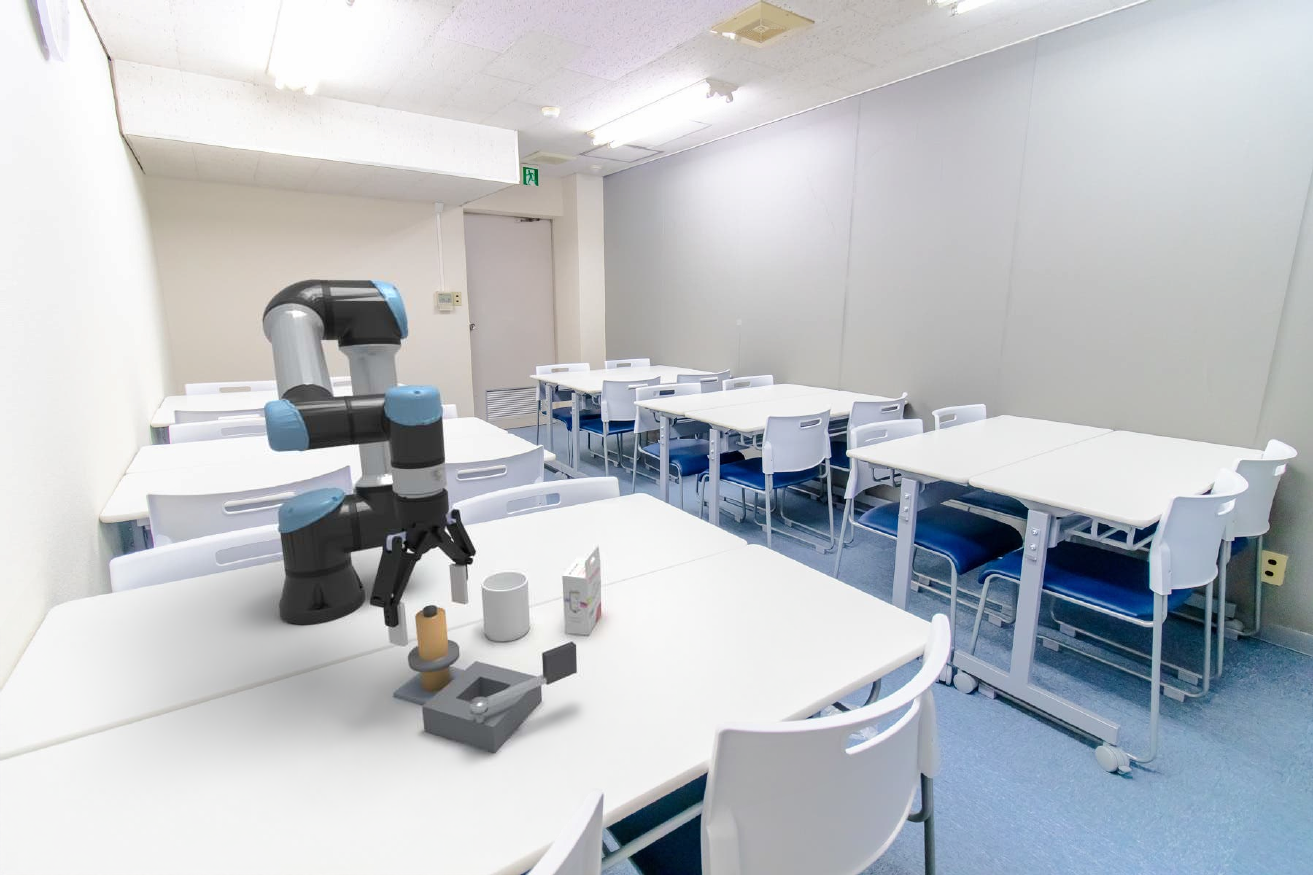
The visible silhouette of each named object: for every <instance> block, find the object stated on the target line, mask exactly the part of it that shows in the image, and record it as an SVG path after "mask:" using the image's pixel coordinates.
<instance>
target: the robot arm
mask: <svg viewBox="0 0 1313 875" xmlns="http://www.w3.org/2000/svg"><path fill="white" fill-rule="evenodd" d="M406 311H407V310H406V308H405V304H404V300H403V298H402V295H401V293H400V291H399V289H398V288H397V287H396V285H394V284H393V283H391V282H388V281H379V280H373V279H367V280H363V279H362V280H361V279H360V280H359V279H358V280H357V279H354V280H353V279H346V280H345V279H343V280H342V279H337V280H336V279H312V278H311V279H306V280H301V281H298V282H295V283H293V284H290V285H288V286H286V287H284V288H283V289H281V290H280V291H279V292H277V294H275V295H274V296H273V297H272V298H271V300H270V301H269V302H268V303H267V305H266V306H265V308H264V312H263V315H262V330H263V334H264V335H265V337H266V339H267V340H268V342H270V344H271V348H272V357H273V363H274V364H273V366H274V373H275V380H276V389H277V398H278V400H271V401H268V402H266V403H265V404H264V406H263V411H264V420H265V429H266V435H267V436H266V437H267V440H268V441H267V442H268V445H269V448H270V449H271V450H272V451H274V452H279V453H280V452H295V451H296V452H297V451H298V452H305V451H310V450H311V451H312V450H319V449H328V448H329V449H331V448H338V447H345V446H353V445H354V446H358V448H359V459H360V467H361V477H359V479H358V480H357V481H356V482H355V484H354V487H355V488H354V489H355V493H351V494H346V492H345V491H344V490H343V489H342V488H340V487H331V488H329V487H324V488H318V489H315V490H314V489H313V490H310V491H306V492H304V493H301V494H298V495H295V496H293V497H291V498H289V499H287V500H285V501H284V502H283V503H282V504H281V505H280V506H279V508H278V512H277V519H278V520H277V521H278V527H277V530H278V533H279V534H280V542H281V551H282V558H283V567H284V573H285V579H284V582H283V587H282V592H281V598H280V600H279V603H278V610H279V615H280V618H281V620H283V621H284V620H285V622H286V621H287V623H289V624H293V623H297V624H296V625H311V624H312V625H313V624H318V623H319V624H320V623H323V622H324V623H325V622H330V621H333V620H336V619H339V618H342V617H344V616H346V615H349V614H351V613H352V612H354V611H355V610H358V608H360V607H361V606H362V605H363V604H364V603H365V601H366V591H365V586H364V584H363V583H362V581H361V579H360V576H359V575H358V573H357V571H356V569H355V567H354V565H353V562H352V553H355V552H360V551H366V550H371V549H372V550H373V549H376V548H381V547H382V552H381V556H380V559H379V563H378V566H377V571H376V575H375V579H374V583H373V586H372V589H371V595H370V599H369V605H370V606H373V607H377V608H382V609H383V618H384V625H385V627H387V628H388V637H389V643H390V644H393V645H396V646H400V647H406V646H407V645H408V644H409V640H408V639H409V638H408V637H409V636H408V628H407V619H406V618H407V617H406V605H405V602H404V601H403V602H401V600H402V597H403V595H404V593H405V590H406V588H407V585H408V583H409V581H410V578H411V576H412V574H413V571H414V568H415V566H416V563H417V562H419V561H421V559H422V557H423V555H424V554H427V553H428V552H429V551H431V550H432V549H436V548H438V549H440V550H441V551H442V552H443V554H445V556H447V557H448V558H449V560H451V561H452V562H453V563H451V564H449V565H448V566H449V578H450V579H449V581H450V591H451V602H453V603H456V604H462V605H467V604H468V603H469V591H468V580H469V575H468V574H469V571H468V570H469V569H468V566H469V565H472V564H473V563H474V557H475V556H476V554H477V550H476V548H475V546H474V544H473V542H472V540H471V537H470V536H469V534H468V532H467V529H466V527H465V526H464V523H463V522H462V517H461V512H460V509H456V508H451V507H450V504H449V492H448V490H447V489H446V487H447V485H448V484H447V483H448V482H447V470H446V454H445V436H444V422H443V413H444V408H443V406H442V401H441V392H440V390H439V389H438V388H437V387H436V386H433V385H424V384H409V385H399V384H398V376H397V375H398V374H397V369H396V366H397V365H396V359H395V356H396V354H397V353H398V352H399V351H400V350H401V348H402V341H401V340H404V339H407V338H408V336H409V326H408V325H409V324H408V316H407V312H406ZM322 341H337V344H338V345H337V346H338V347H337V348H338V351H340V352H341V353H343V355H345V356H346V357H347V360H348V365H349V366H348V367H349V372H350V373H349V374H350V381H351V382H350V383H351V390H352V395H342V396H335V394H334V391H333V387H332V382H331V377H330V373H329V370H328V364H327V360H326V357H325V353H324V349H323V343H322ZM446 529H447V531H446ZM408 550H409V551H410V552H408Z"/></svg>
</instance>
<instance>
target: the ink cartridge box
mask: <svg viewBox="0 0 1313 875" xmlns="http://www.w3.org/2000/svg"><path fill="white" fill-rule="evenodd" d="M599 548H600V547H599V545H597V546H596V547H595V548H594V549H592V551H591V553H590V554H589V555H588V556H587V557H576V558H575V560H574V561H573V562H572V563H571V565H570V566H569V567H568V568H567V569H566V571H565V572H564V573H562V575H561V577H562V578H561V579H562V595H563V596H562V597H563V614H564V616H563V619H564V633H565V634H571V635H580V636H589V635H590V634H591V632H592V631H593V629H594V627H595V625H596V623H597V622H598V621H599V619H600V617H601V614H602V583H601V582H602V580H601V577H602V576H601V556H600V549H599Z"/></svg>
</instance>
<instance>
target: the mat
mask: <svg viewBox="0 0 1313 875" xmlns="http://www.w3.org/2000/svg"><path fill="white" fill-rule="evenodd" d="M465 670H466V669H462V668H459V667H458V668H457V667H455V666H452V665H451V666H450V672H451V681H453V680H454V679H455V678H456V677H457V676H459V675H460V674H461V673H462V672H463V671H465ZM440 691H441V690H438V691H426V690H424V689H423V688H422V682H421V672H418V673H417V674H416V675H414V676H413V677H412V678H411V679H409V680H408V681H407V682H405V683H404V684H403V685H401V686H400V687H399V688H398V689H396V690H395V691H394V692H393V693H392V694H393V696H392V697H395V698H398V699H401V700H405V701H408V702H411V703H415V704H417V705H421V706H423V705H424V704H425V703H427V702H428V701H429V700H430V699H431V698H433V697H434V696H435V695H436V694H437V693H438V692H440Z"/></svg>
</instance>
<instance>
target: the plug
mask: <svg viewBox="0 0 1313 875" xmlns="http://www.w3.org/2000/svg"><path fill="white" fill-rule="evenodd" d="M414 616H415V618H414V619H415V626H416V627H415V628H416V637H417V638H416V640H417V646H415V647H413V648H412V649H411V650H410V651H409V653H408V656H407V660H408V666H409V668H410V669H411V670H412V671H414V672H418V673H420V672H421V682H422V688H423V689H424V690H426V691H438V690H442V689H443V688H444V687H446V686H447V685H448V684H449V683H450V682H451V672H450V666H451V667H452V665H453V664H455V663H456V662H457V661H458V659H459V658H460V646H459V644H458V643H457V642H456V641H454V640H451V639H448V628H447V616H446V609H444V608H443V607H439V606H438V607H437V606H436V605H433V604H431V605H426V606H425V607H423V608H422V610H420V611H418V612H417V613H416V614H415V615H414Z"/></svg>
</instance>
